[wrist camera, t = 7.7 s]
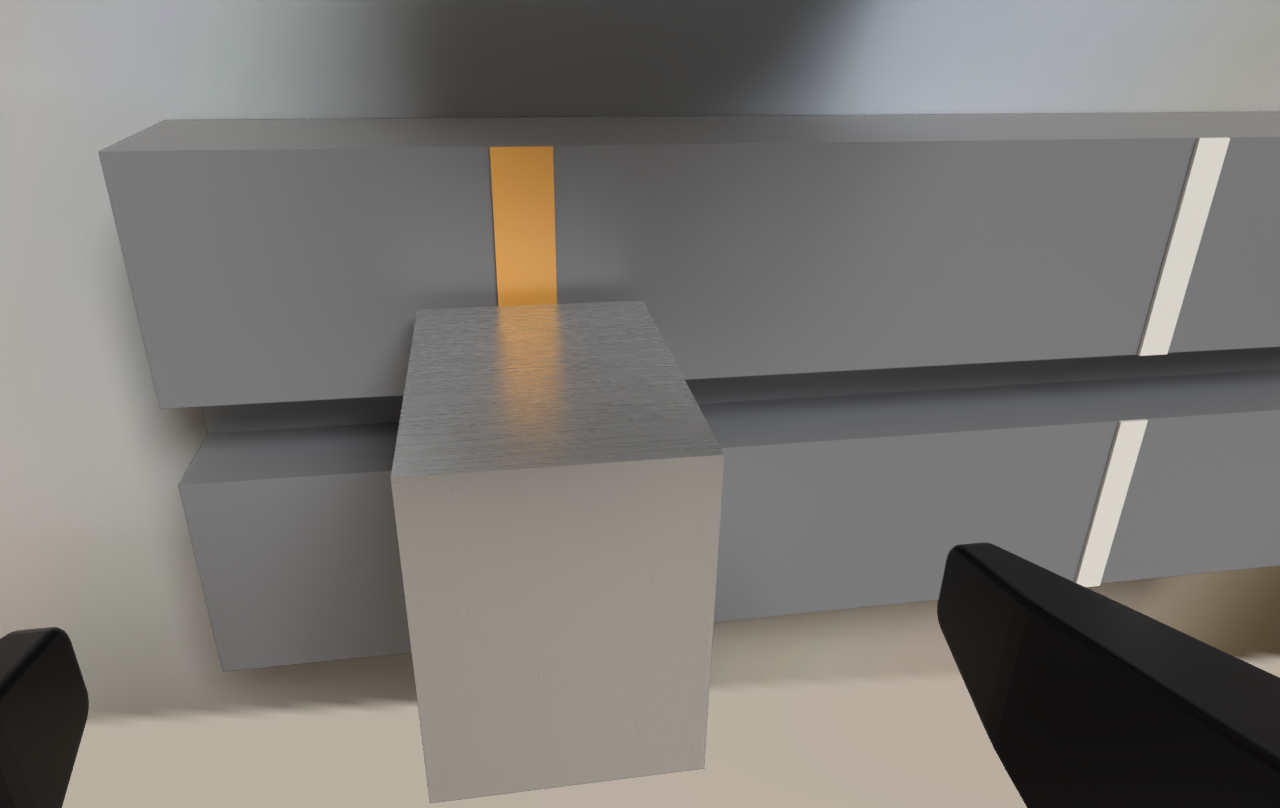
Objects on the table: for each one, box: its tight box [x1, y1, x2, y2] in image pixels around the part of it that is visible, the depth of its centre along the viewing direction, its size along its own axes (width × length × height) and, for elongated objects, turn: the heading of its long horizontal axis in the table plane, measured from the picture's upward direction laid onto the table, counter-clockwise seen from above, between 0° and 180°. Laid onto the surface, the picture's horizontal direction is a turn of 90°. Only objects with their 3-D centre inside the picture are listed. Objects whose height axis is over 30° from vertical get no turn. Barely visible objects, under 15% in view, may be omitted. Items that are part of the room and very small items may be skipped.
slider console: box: [98, 112, 1280, 671], centre depth 15 cm, size 20×8×3 cm, turn 89°
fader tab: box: [391, 301, 724, 803], centre depth 12 cm, size 3×4×6 cm
